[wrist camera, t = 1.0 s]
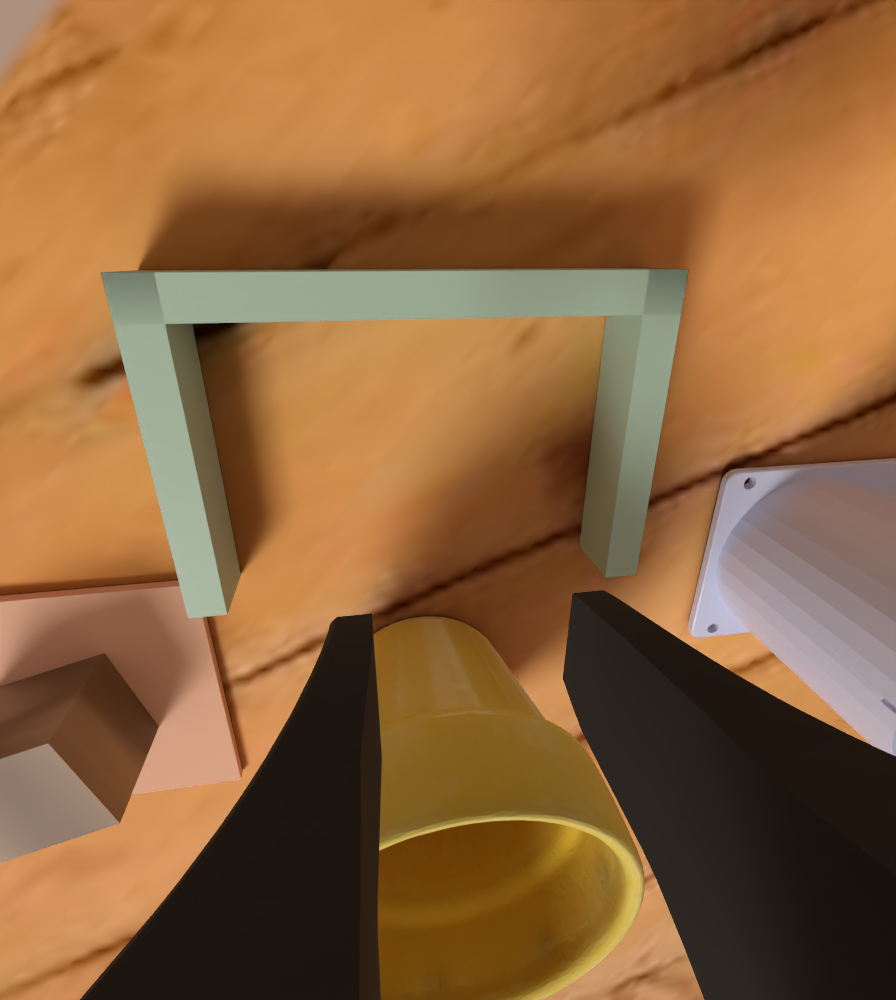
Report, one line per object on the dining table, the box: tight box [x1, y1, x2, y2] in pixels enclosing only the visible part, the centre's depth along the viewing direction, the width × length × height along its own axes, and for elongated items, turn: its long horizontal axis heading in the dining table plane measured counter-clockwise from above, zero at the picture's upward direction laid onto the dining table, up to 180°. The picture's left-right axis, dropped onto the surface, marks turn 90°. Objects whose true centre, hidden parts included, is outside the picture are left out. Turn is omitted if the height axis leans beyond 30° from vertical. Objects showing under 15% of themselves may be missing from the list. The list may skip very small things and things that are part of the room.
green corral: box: [101, 268, 689, 618], centre depth 17 cm, size 15×10×2 cm, turn 90°
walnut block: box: [0, 653, 159, 863], centre depth 18 cm, size 4×4×4 cm
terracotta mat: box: [0, 580, 243, 795], centre depth 20 cm, size 10×10×1 cm
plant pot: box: [373, 616, 645, 1000], centre depth 18 cm, size 10×10×10 cm
